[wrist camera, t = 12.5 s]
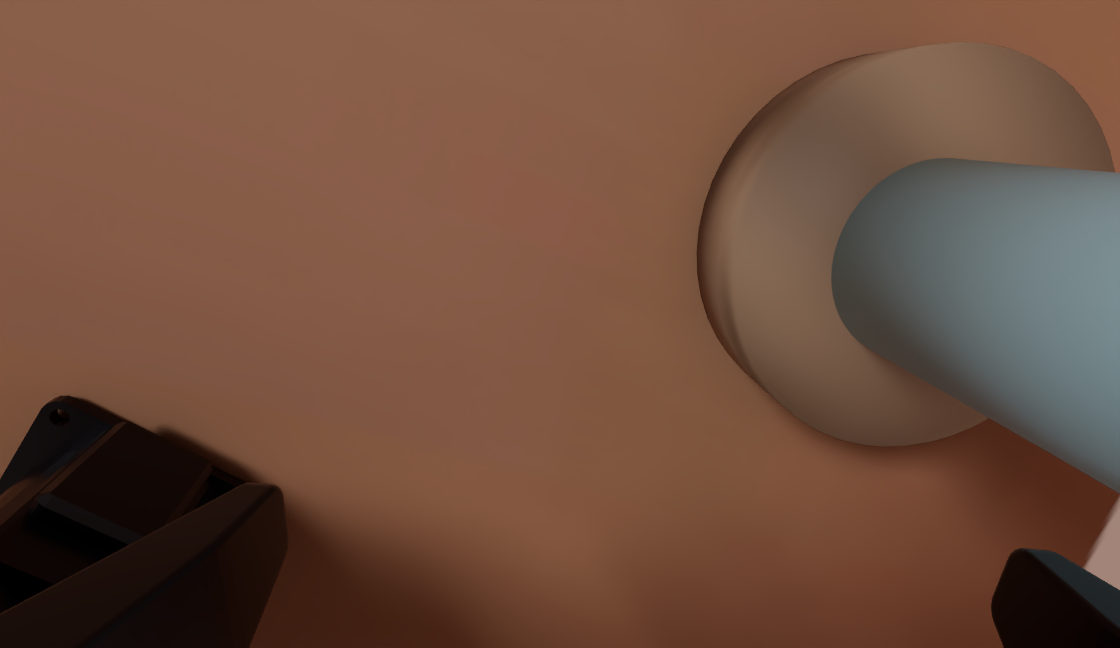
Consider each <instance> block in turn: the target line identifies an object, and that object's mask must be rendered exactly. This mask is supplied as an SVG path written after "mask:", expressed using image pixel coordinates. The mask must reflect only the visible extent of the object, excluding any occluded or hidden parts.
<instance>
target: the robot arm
mask: <svg viewBox="0 0 1120 648" xmlns="http://www.w3.org/2000/svg"><path fill="white" fill-rule="evenodd" d="M58 409H60V410H64V411H65V412H66V413H68V415H69V417H70V420H65V419H63V418H61V417H60V416H59V414H58V412H57V411H58ZM287 548H288V530H287V522H286V514H285V506H284V498H283V493H282V491H281V489H280V488H279V487H278V486H277V485H274V484H262V483H246V482H244V481H242V480H240V479H238V478H236V477H234V476H232V475H230V474H228V473H226V472H224V471H222V470H220V469H218V468H216V467H214V466H212V465H210V463H209V462H208V461H207V460H205V459H203V458H201V457H199V456H197V455H195V454H193V453H191V452H189V451H187V450H185V449H183V448H181V447H179V446H177V445H175V444H173V443H171V442H169V441H167V440H165V439H163V438H161V437H159V436H157V435H155V434H153V433H151V432H149V431H147V430H145V429H143V428H141V427H139V426H137V425H135V424H133V423H131V422H123V421H121V420H119V419H117V418H115V417H113V416H111V415H109V414H107V413H105V412H103V411H101V410H99V409H97V408H95V407H93V406H91V405H89V404H87V403H85V402H83V401H81V400H79V399H77V398H74V397H71V396H59V397H57V398H54V399H53V400H51V401H50V402H48V403H47V404H46V405H45V406H44V407H43V408H42V409H41V410H40V412H39V414H38V416H37V417H36V419H35V421H34V422H33V424H32V426H31V427H30V429H29V431H28V433H27V434H26V436H25V438H24V439H23V441H22V443H21V445H20V446H19V448H18V450H17V451H16V453H15V455H14V457H13V458H12V460H11V462H10V463H9V465H8V467H7V469H6V470H5V472H4V474H3V475H2V477H1V479H0V648H249V647H250V644H251V642H252V639H253V637H254V634H255V632H256V629H257V627H258V624H259V622H260V619H261V617H262V614H263V612H264V609H265V607H266V604H267V601H268V599H269V596H270V594H271V591H272V589H273V586H274V584H275V581H276V579H277V576H278V574H279V571H280V569H281V566H282V564H283V561H284V559H285V556H286V552H287ZM991 612H992V617H993V621H994V624H995V626H996V629H997V632H998V634H999V637H1000V639H1001V642H1002V644H1003V647H1004V648H1120V590H1118V589H1117V588H1115V587H1113V586H1112V585H1110V584H1108V583H1107V582H1105V581H1103V580H1101V579H1100V578H1098V577H1096V576H1095V575H1093V574H1091V573H1090V572H1088V571H1086V570H1085V569H1083V568H1081V567H1080V566H1078V565H1076V564H1075V563H1073V562H1071V561H1069V560H1068V559H1066V558H1064V557H1063V556H1061V555H1059V554H1057V553H1055V552H1052V551H1048V550H1037V549H1025V548H1021V549H1017V550H1015V551H1013V552H1012V553H1011V554H1010V556H1009V558H1008V560H1007V562H1006V565H1005V567H1004V570H1003V572H1002V575H1001V577H1000V580H999V582H998V585H997V587H996V590H995V592H994V595H993V597H992V603H991Z"/></svg>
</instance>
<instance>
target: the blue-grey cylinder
mask: <svg viewBox="0 0 1120 648" xmlns="http://www.w3.org/2000/svg"><path fill="white" fill-rule="evenodd" d="M831 283H832V293H833V298H834V303H835V306H836V309H837V311H838V314H839V316H840V318H841V320H842V322H843V324H844V325H845V327H846V328H847V329H848V331H849V332H850V333H851V335H852V336H853V337H854V338H856V339H857V340H858V341H859V342H860V343H861V344H863V345H864V346H866V347H867V348H868V349H870V350H872V351H874V352H875V353H877V354H879V355H880V356H882V357H884V358H886V359H887V360H889V361H891V362H893V363H894V364H896V365H898V366H900V367H901V368H903V369H905V370H906V371H908V372H910V373H912V374H913V375H915V376H917V377H919V378H920V379H922V380H924V381H926V382H927V383H929V384H931V385H932V386H934V387H936V388H938V389H939V390H941V391H943V392H945V393H946V394H948V395H950V396H952V397H953V398H955V399H957V400H958V401H960V402H962V403H964V404H965V405H967V406H969V407H971V408H972V409H974V410H976V411H977V412H979V413H981V414H983V415H984V416H986V417H988V418H990V419H991V420H993V421H995V422H997V423H998V424H1000V425H1002V426H1003V427H1005V428H1007V429H1009V430H1010V431H1012V432H1014V433H1016V434H1017V435H1019V436H1021V437H1023V438H1024V439H1026V440H1028V441H1029V442H1031V443H1033V444H1035V445H1036V446H1038V447H1040V448H1042V449H1043V450H1045V451H1047V452H1049V453H1050V454H1052V455H1054V456H1055V457H1057V458H1059V459H1061V460H1062V461H1064V462H1066V463H1068V464H1069V465H1071V466H1073V467H1075V468H1076V469H1078V470H1080V471H1081V472H1083V473H1085V474H1087V475H1088V476H1090V477H1092V478H1094V479H1095V480H1097V481H1099V482H1101V483H1102V484H1104V485H1106V486H1107V487H1109V488H1111V489H1113V490H1114V491H1116V492H1118V493H1120V173H1115V172H1104V171H1092V170H1081V169H1069V168H1058V167H1047V166H1035V165H1024V164H1013V163H1001V162H990V161H979V160H967V159H956V158H937V159H929V160H925V161H920V162H917V163H914V164H911V165H909V166H906V167H904V168H902V169H900V170H898V171H896V172H894V173H893V174H891V175H890V176H888V177H887V178H885V179H884V180H882V181H881V182H880V183H879V184H877V185H876V186H875V187H874V188H873V189H872V190H870V191H869V193H868V194H867V195H866V196H865V197H864V198H863V199H862V200H861V201H860V202H859V204H858V205H857V207H856V208H855V209H854V211H853V212H852V213H851V215H850V217H849V218H848V220H847V222H846V224H845V225H844V227H843V230H842V232H841V234H840V237H839V239H838V242H837V246H836V249H835V252H834V257H833V263H832V274H831Z"/></svg>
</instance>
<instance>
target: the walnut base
mask: <svg viewBox="0 0 1120 648" xmlns="http://www.w3.org/2000/svg"><path fill="white" fill-rule="evenodd" d="M937 158H956V159H967V160H979V161H990V162H1001V163H1013V164H1024V165H1035V166H1047V167H1058V168H1069V169H1081V170H1092V171H1104V172H1115V171H1114V167H1113V162H1112V158H1111V153H1110V149H1109V147H1108V144H1107V142H1106V139H1105V136H1104V134H1103V131H1102V129H1101V126H1100V125H1099V123H1098V121H1097V119H1096V118H1095V116H1094V114H1093V112H1092V111H1091V109H1090V107H1089V106H1088V104H1087V103H1086V102H1085V101H1084V99H1083V98H1082V97H1081V96H1080V95H1079V93H1078V92H1077V91H1076V90H1075V88H1074V87H1073V86H1072V85H1070V84H1069V83H1068V82H1067V81H1066V80H1065V79H1064V78H1063V77H1061V76H1060V75H1059V74H1058V73H1057V72H1056V71H1054V70H1053V69H1051V68H1049V67H1048V66H1046V65H1045V64H1043V63H1041V62H1040V61H1038V60H1036V59H1035V58H1032V57H1030V56H1028V55H1025V54H1023V53H1020V52H1018V51H1015V50H1013V49H1009V48H1005V47H1000V46H996V45H991V44H986V43H969V42H954V43H944V44H933V45H926V46H920V47H913V48H906V49H899V50H892V51H886V52H879V53H872V54H865V55H861V56H857V57H853V58H849V59H844V60H840V61H838V62H835V63H833V64H830V65H828V66H825V67H823V68H820V69H818V70H816V71H814V72H812V73H810V74H809V75H807V76H805V77H803V78H801V79H800V80H798V81H796V82H794V83H793V84H792V85H790V86H789V87H788V88H786V89H785V90H783V91H782V92H781V93H779V94H778V95H777V96H775V97H774V98H773V99H772V100H771V101H770V102H769V103H768V104H767V105H765V106H764V107H763V108H762V109H761V110H760V111H759V112H758V113H757V114H756V115H755V116H754V117H753V118H752V120H751V121H750V122H749V123H748V124H747V126H746V127H745V128H744V129H743V130H742V132H741V133H740V134H739V135H738V137H737V138H736V140H735V141H734V143H733V144H732V146H731V147H730V149H729V150H728V152H727V154H726V155H725V157H724V158H723V160H722V162H721V165H720V167H719V169H718V171H717V173H716V175H715V177H714V179H713V181H712V184H711V187H710V189H709V192H708V195H707V198H706V201H705V204H704V208H703V212H702V217H701V221H700V226H699V233H698V244H697V275H698V281H699V287H700V293H701V298H702V301H703V305H704V308H705V311H706V314H707V317H708V320H709V322H710V324H711V326H712V328H713V330H714V332H715V334H716V336H717V338H718V339H719V341H720V342H721V344H722V345H723V347H724V348H725V350H726V351H727V353H728V354H729V355H730V356H731V358H732V359H733V360H734V361H735V362H736V363H737V364H738V365H739V366H740V367H741V368H742V369H743V370H744V371H745V372H746V373H747V374H748V375H749V376H750V377H751V378H752V379H754V380H755V381H756V382H757V383H758V384H759V385H760V386H761V387H762V388H763V389H764V390H766V391H767V392H768V393H769V394H770V395H771V396H772V397H773V398H774V399H775V400H777V401H778V402H779V403H780V404H781V405H782V406H783V407H784V408H786V409H787V410H788V411H789V412H791V413H792V414H793V415H794V416H795V417H797V418H798V419H799V420H800V421H802V422H804V423H806V424H807V425H809V426H811V427H812V428H814V429H816V430H818V431H819V432H822V433H824V434H827V435H829V436H832V437H835V438H837V439H840V440H844V441H848V442H852V443H856V444H861V445H871V446H881V447H889V446H908V445H915V444H921V443H927V442H931V441H935V440H938V439H942V438H945V437H949V436H952V435H954V434H957V433H959V432H962V431H964V430H967V429H969V428H972V427H974V426H976V425H978V424H980V423H981V422H983V421H985V420H987V419H989V418H988V417H986V416H984V415H983V414H981V413H979V412H977V411H976V410H974V409H972V408H971V407H969V406H967V405H965V404H964V403H962V402H960V401H958V400H957V399H955V398H953V397H952V396H950V395H948V394H946V393H945V392H943V391H941V390H939V389H938V388H936V387H934V386H932V385H931V384H929V383H927V382H926V381H924V380H922V379H920V378H919V377H917V376H915V375H913V374H912V373H910V372H908V371H906V370H905V369H903V368H901V367H900V366H898V365H896V364H894V363H893V362H891V361H889V360H887V359H886V358H884V357H882V356H880V355H879V354H877V353H875V352H874V351H872V350H870V349H868V348H867V347H866V346H864V345H863V344H861V343H860V342H859V341H858V340H857V339H856V338H854V337H853V336H852V335H851V333H850V332H849V331H848V329H847V328H846V327H845V325H844V324H843V322H842V320H841V318H840V316H839V314H838V311H837V309H836V306H835V303H834V298H833V293H832V283H831V274H832V263H833V257H834V252H835V249H836V246H837V242H838V239H839V237H840V234H841V232H842V230H843V227H844V225H845V224H846V222H847V220H848V218H849V217H850V215H851V213H852V212H853V211H854V209H855V208H856V207H857V205H858V204H859V202H860V201H861V200H862V199H863V198H864V197H865V196H866V195H867V194H868V193H869V191H870V190H872V189H873V188H874V187H875V186H876V185H877V184H879V183H880V182H881V181H882V180H884V179H885V178H887V177H888V176H890V175H891V174H893V173H894V172H896V171H898V170H900V169H902V168H904V167H906V166H909V165H911V164H914V163H917V162H920V161H925V160H929V159H937Z"/></svg>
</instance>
